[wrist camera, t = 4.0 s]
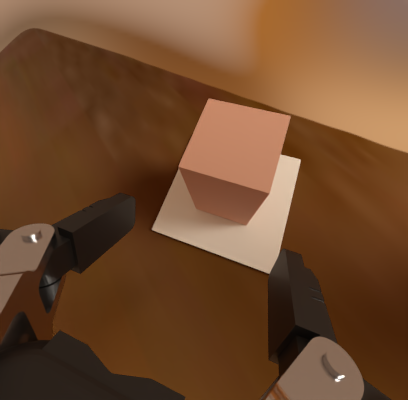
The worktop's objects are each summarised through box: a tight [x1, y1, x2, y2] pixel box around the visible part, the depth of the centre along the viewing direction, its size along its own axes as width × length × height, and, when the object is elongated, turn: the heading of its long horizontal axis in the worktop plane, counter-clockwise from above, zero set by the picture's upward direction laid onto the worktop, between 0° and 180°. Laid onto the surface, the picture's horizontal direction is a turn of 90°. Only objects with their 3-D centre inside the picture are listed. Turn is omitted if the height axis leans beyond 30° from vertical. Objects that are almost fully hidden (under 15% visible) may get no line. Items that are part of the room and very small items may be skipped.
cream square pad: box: [152, 155, 301, 274], centre depth 22 cm, size 14×14×1 cm
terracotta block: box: [178, 99, 291, 225], centre depth 17 cm, size 6×6×10 cm
